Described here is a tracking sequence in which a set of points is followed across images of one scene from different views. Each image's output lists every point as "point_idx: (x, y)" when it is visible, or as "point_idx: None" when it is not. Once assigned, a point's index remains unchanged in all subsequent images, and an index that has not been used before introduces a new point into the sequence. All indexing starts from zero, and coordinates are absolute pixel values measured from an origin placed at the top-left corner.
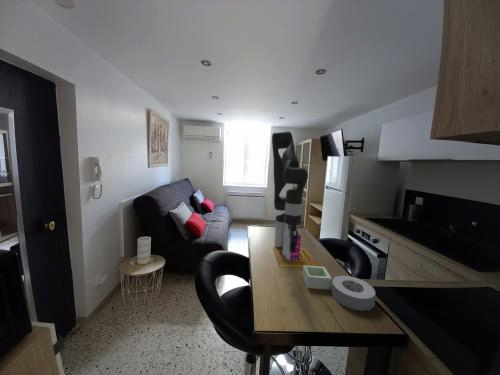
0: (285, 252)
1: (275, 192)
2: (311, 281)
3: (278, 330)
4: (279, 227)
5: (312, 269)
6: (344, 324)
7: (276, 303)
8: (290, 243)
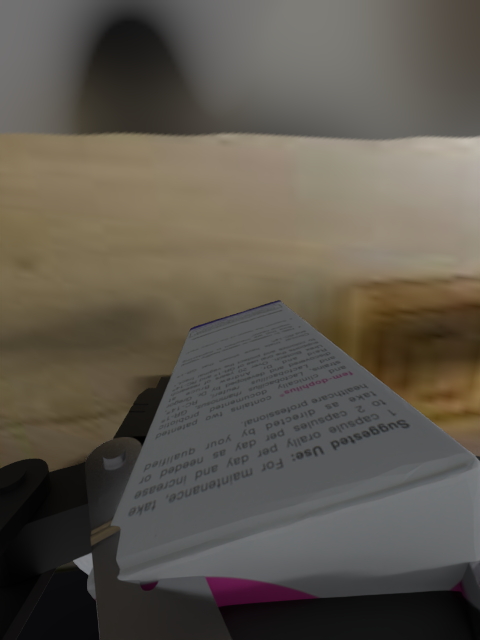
0: (234, 326)
1: None
2: None
3: None
4: None
5: None
6: (6, 440)
7: (51, 234)
8: (117, 444)
